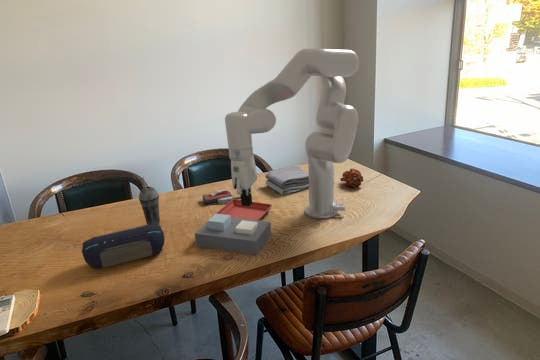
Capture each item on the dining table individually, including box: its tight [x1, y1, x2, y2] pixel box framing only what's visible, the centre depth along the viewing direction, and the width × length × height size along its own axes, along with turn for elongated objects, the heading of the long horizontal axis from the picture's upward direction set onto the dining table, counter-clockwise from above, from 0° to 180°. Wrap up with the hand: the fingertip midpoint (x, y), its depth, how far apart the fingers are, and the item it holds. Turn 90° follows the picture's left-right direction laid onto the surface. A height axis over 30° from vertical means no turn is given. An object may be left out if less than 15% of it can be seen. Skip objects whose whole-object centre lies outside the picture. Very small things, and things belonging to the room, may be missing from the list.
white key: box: [235, 220, 258, 235], centre depth 135 cm, size 6×6×5 cm
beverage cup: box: [138, 176, 161, 226], centre depth 148 cm, size 7×7×20 cm
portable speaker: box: [81, 225, 165, 270], centre depth 128 cm, size 25×10×10 cm, turn 114°
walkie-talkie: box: [202, 188, 241, 206], centre depth 171 cm, size 9×4×20 cm
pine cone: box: [339, 167, 364, 188], centre depth 178 cm, size 8×8×12 cm
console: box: [194, 217, 272, 256], centre depth 137 cm, size 22×14×5 cm, turn 70°
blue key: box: [207, 213, 231, 231], centre depth 137 cm, size 6×6×5 cm
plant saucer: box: [212, 199, 273, 221], centre depth 154 cm, size 18×18×3 cm
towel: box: [265, 164, 309, 196], centre depth 181 cm, size 15×18×8 cm
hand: (247, 204), depth 132 cm, fingers closed
